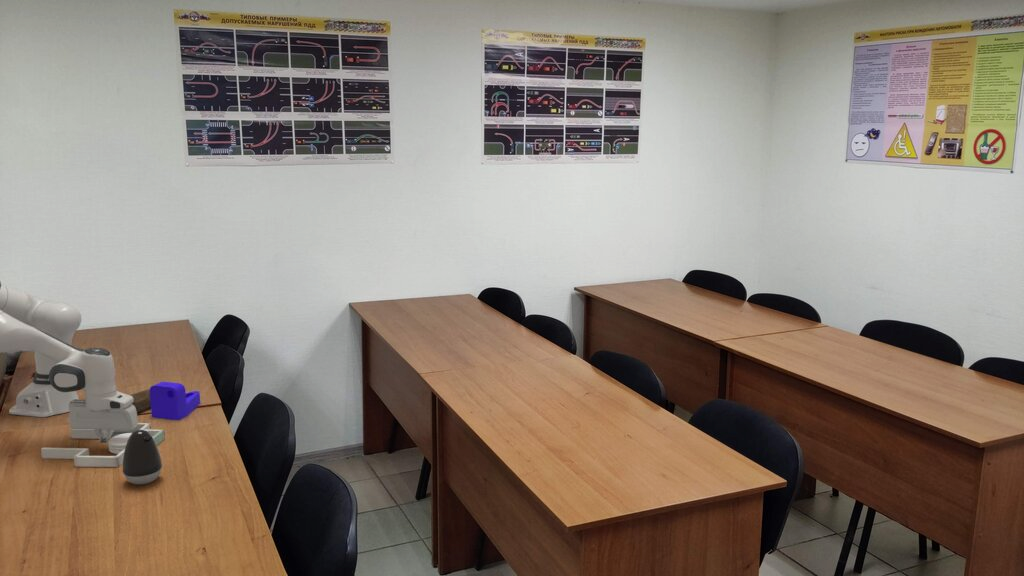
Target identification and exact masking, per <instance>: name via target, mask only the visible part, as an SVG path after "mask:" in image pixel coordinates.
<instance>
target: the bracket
mask: <svg viewBox="0 0 1024 576" xmlns="http://www.w3.org/2000/svg"><path fill="white" fill-rule="evenodd" d="M149 389H150V402H151V407H150V414H151V418H156V419H165V420H170V421H171V420H173V421H180V420H182V419H184V418H186V417H188V416H189V415H190V414H191V413H192V412H193V411H194V410H195V409H196V408H198V406H200V405H201V394H200V393H201V392H200V391H199V390H193V391H189V392H186V387H185V386H184V384H182V383H178V382H170V381H169V382H168V381H160V382H158V383H156V384H154V385H152V386H150V387H149Z"/></svg>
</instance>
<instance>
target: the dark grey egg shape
mask: <svg viewBox="0 0 1024 576" xmlns="http://www.w3.org/2000/svg"><path fill="white" fill-rule="evenodd" d="M162 462H163V461H162V457H161V453H160V451H159V448H158V445H156V443H155V441H154V439H153V438H152V436H151V435H150V434H149V433H148V432H147V431H145V430H137V431H135V432H133V433H132V434H131V435H130V437H129V439H128V441H127V444H126V447H125V451H124V456H123V463H122V467H121V468H122V473H123V475H124V477H125V479H126V480H127V481H128V483H130V484H133V485H147V484H150V483H152V482H153V481H155V480H156V479H157V478H158V477H159V476H160V473H161V472H162V471H161V470H162V467H163V463H162Z"/></svg>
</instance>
